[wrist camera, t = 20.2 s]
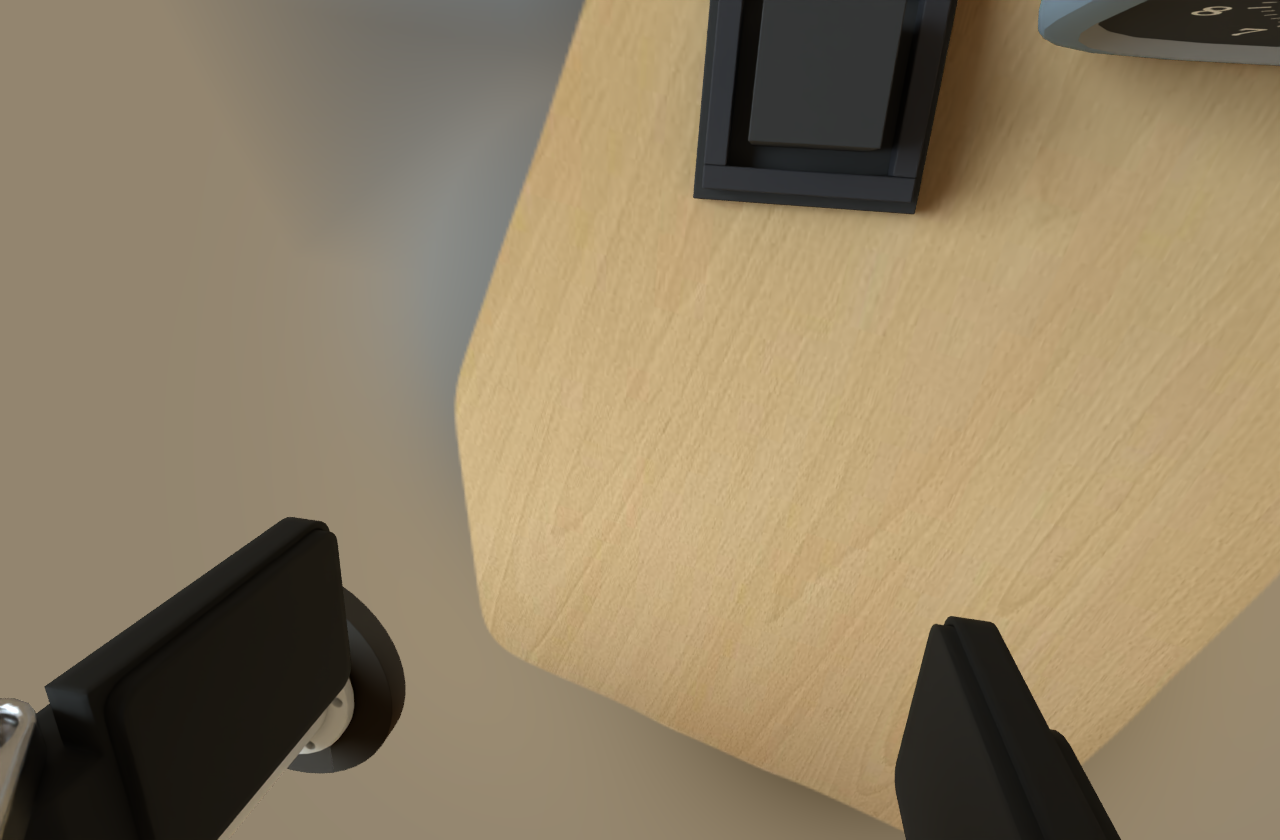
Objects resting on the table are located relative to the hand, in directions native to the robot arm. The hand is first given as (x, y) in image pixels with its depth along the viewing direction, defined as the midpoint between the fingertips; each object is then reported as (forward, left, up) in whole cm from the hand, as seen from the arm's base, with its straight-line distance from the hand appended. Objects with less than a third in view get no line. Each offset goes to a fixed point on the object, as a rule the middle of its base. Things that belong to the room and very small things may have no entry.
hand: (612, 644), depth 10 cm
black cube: (+3, +11, -25) cm, 27 cm away
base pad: (+3, +11, -26) cm, 28 cm away
